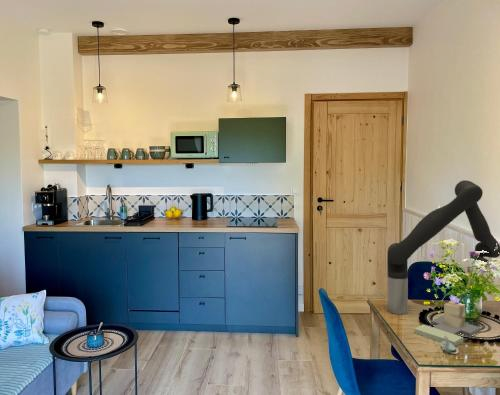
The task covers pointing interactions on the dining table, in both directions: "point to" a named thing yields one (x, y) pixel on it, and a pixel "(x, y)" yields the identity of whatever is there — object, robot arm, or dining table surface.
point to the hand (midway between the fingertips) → (462, 310)
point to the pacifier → (448, 346)
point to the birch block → (454, 314)
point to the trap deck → (446, 331)
